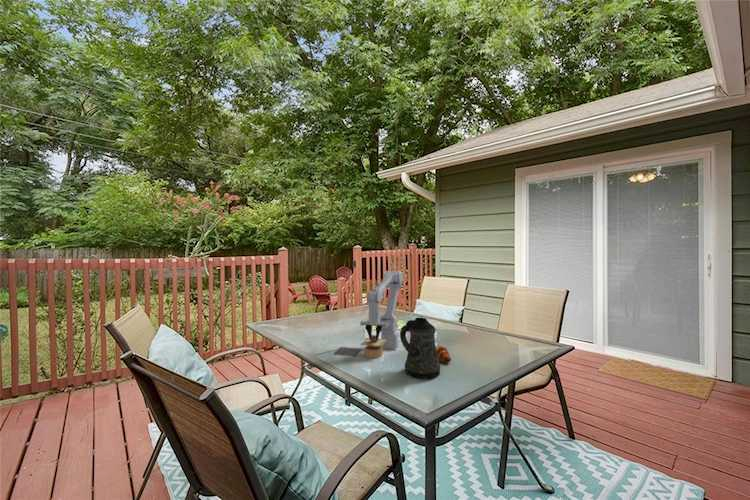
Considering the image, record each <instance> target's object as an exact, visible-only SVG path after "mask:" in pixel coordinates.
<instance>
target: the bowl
mask: <svg viewBox="0 0 750 500" xmlns="http://www.w3.org/2000/svg"><path fill="white" fill-rule="evenodd" d="M383 350H384V349H383V347H378V346H366V345H365V347H364V356H365V357H367V358H368V359H379V358H382V357H383Z"/></svg>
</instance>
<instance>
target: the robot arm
mask: <svg viewBox="0 0 750 500" xmlns="http://www.w3.org/2000/svg"><path fill="white" fill-rule="evenodd" d="M403 281H404V275H403V272H402V271H397V270H396V271H392V270H391V271H390V270H385V272H384V275H383V279H382V280H381V282H378V283H377V285H375V287H374V288H373V289H372V290H371V291H368V292H367V294H366V301H367V305H368V320H361V321H360V323H359V325H360V326H365V330H366V332H367V334H368V338H369V340H370V338H371V336H372V335H373V334H372V333H373V332H372V331H373V327H375V335H376V340H378V339H379V336H380V334H381V336H380V337H381V338H380V339H384V340H386V342H385V343H384V344H383V346H382V347H383V350H390V351H391V350H392V351H397V349H398V347H399V334H398V332H397V329H398V319H397V318H396V316H395V312H396V306H397V301H398V296H399V291H400V288H401V287H402V286H403ZM387 287H389V288H390V289H389V294H388V300H387V304H386V308H385V313H384V314H383V315H382V316H380V306H381V305H380V304H381V301H382V299H383V295H384V293H385V292H386V291H387Z"/></svg>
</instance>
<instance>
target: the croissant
mask: <svg viewBox="0 0 750 500" xmlns="http://www.w3.org/2000/svg"><path fill="white" fill-rule="evenodd" d="M435 346H436V352H437V357H438V361H439V362H442V363H450V362H451V361H452V358H451V356H450V353H449V351H448V349H447V348H446V347H445V346H443V345H435Z"/></svg>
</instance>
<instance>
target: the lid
mask: <svg viewBox="0 0 750 500" xmlns="http://www.w3.org/2000/svg"><path fill="white" fill-rule="evenodd" d="M385 342H386V340H384V339H381V338H378V340H376V334H375V335H374V334H372V336H371V338H370V340H369V337H367V338H365V339H364V340H363V341H362V342H361V344H360V345H361V346H365V347H366V346H378V347H382V346H383V344H384V343H385Z"/></svg>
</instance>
